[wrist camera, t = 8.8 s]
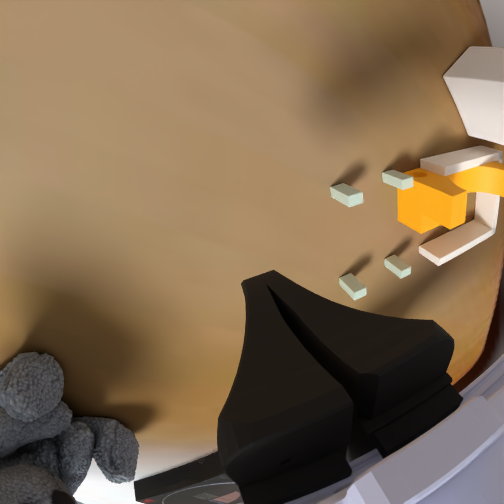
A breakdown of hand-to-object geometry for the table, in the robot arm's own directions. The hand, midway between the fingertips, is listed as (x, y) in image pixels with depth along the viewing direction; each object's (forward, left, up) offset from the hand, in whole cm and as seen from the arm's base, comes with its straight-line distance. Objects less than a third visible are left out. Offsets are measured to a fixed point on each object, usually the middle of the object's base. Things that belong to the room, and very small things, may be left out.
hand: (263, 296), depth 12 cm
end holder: (-5, -23, -10) cm, 26 cm away
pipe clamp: (-3, -21, -10) cm, 24 cm away
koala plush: (-14, +25, -10) cm, 30 cm away
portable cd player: (-40, +14, -11) cm, 44 cm away
